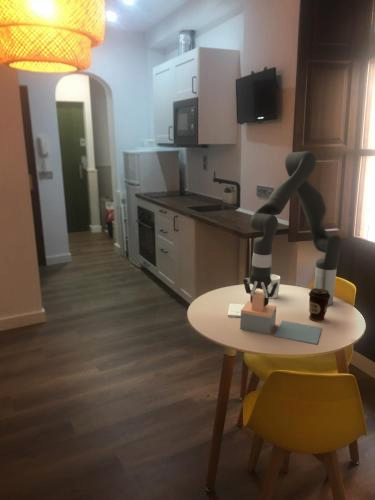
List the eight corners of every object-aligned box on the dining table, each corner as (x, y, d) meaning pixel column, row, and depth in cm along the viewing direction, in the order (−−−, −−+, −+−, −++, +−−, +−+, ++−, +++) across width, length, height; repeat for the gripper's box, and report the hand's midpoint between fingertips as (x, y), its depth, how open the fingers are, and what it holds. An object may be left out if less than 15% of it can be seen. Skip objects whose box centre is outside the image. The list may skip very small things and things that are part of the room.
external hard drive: (247, 308, 188) (246, 319, 176) (229, 306, 190) (227, 317, 178) (247, 304, 188) (246, 315, 176) (229, 303, 189) (227, 314, 177)
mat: (282, 321, 173) (282, 320, 173) (321, 328, 167) (321, 327, 167) (274, 336, 160) (274, 335, 160) (316, 344, 154) (316, 343, 154)
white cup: (260, 293, 205) (261, 274, 202) (275, 292, 205) (277, 273, 203) (265, 299, 197) (266, 279, 194) (281, 298, 198) (282, 279, 195)
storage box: (247, 319, 175) (247, 304, 173) (275, 324, 170) (276, 308, 168) (240, 328, 166) (240, 312, 164) (269, 334, 161) (270, 318, 160)
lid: (247, 306, 173) (248, 287, 171) (276, 311, 169) (277, 292, 167) (240, 315, 165) (241, 295, 162) (270, 321, 160) (271, 301, 158)
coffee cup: (316, 325, 170) (319, 295, 167) (302, 317, 178) (304, 289, 174) (331, 321, 174) (334, 292, 171) (317, 313, 181) (320, 286, 178)
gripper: (281, 263, 162) (278, 304, 166) (246, 259, 167) (244, 298, 172) (277, 269, 155) (274, 311, 160) (241, 264, 161) (239, 304, 165)
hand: (259, 304), depth 166 cm, fingers closed on lid, 4 cm apart
